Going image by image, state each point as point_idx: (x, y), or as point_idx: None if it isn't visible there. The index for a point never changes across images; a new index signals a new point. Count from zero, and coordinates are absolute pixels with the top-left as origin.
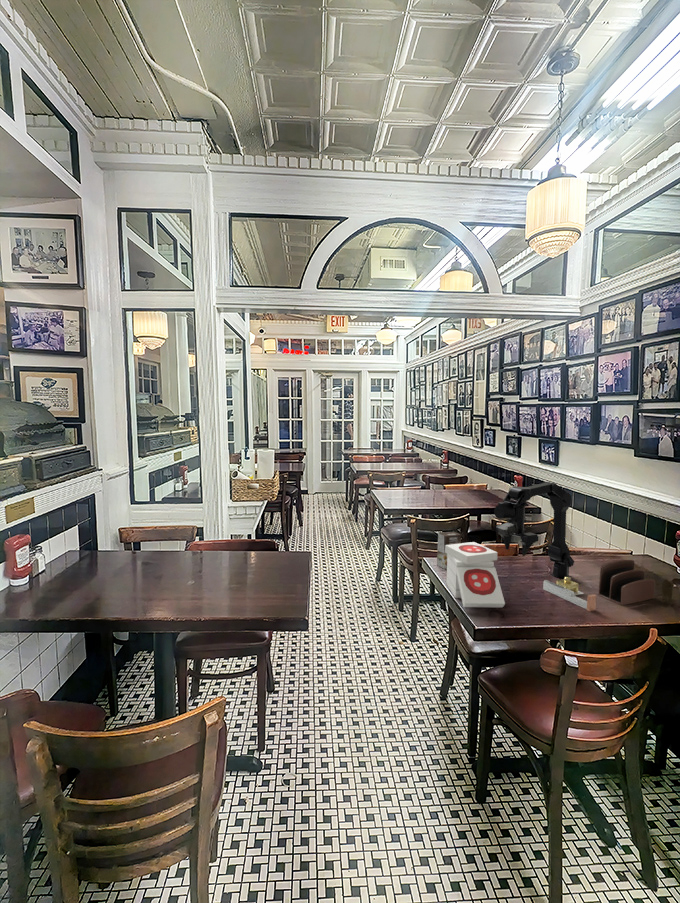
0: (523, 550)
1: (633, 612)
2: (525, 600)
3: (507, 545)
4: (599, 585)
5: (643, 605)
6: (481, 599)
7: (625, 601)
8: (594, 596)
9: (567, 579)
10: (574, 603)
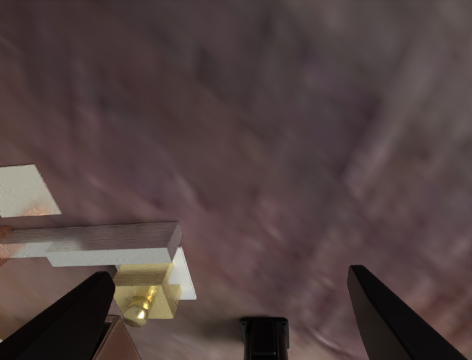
0: (21, 331)
1: (23, 309)
2: (78, 77)
3: (370, 321)
4: (100, 348)
5: None
6: None
7: None
8: None
9: (126, 310)
10: (52, 229)
